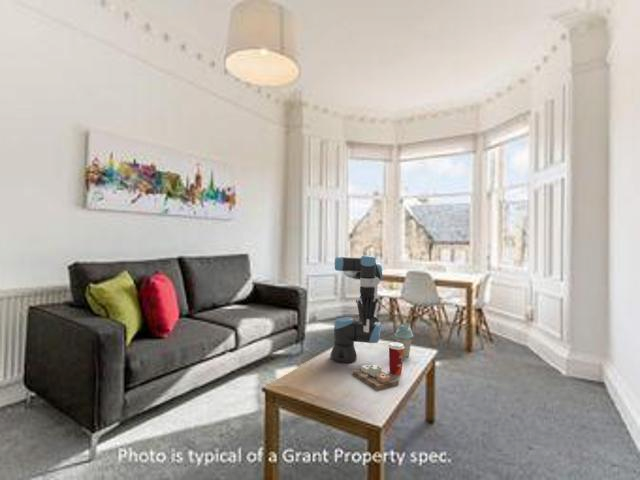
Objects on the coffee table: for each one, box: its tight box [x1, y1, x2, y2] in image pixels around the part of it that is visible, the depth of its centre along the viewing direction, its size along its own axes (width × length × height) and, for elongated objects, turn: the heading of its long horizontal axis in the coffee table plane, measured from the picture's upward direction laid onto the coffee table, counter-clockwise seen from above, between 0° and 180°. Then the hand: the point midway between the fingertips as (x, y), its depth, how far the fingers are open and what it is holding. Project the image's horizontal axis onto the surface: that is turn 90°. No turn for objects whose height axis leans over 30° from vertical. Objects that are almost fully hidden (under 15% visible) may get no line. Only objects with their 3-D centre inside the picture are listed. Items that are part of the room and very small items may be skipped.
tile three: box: [376, 372, 391, 383], centre depth 169 cm, size 4×4×4 cm
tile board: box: [352, 368, 400, 391], centre depth 174 cm, size 20×13×2 cm, turn 30°
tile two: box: [369, 364, 382, 378], centre depth 174 cm, size 4×4×4 cm
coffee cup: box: [388, 341, 404, 376], centre depth 183 cm, size 8×8×15 cm
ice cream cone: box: [394, 322, 414, 358], centre depth 210 cm, size 10×11×20 cm
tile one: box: [360, 364, 371, 374], centre depth 180 cm, size 4×4×4 cm
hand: (366, 331), depth 180 cm, fingers closed
